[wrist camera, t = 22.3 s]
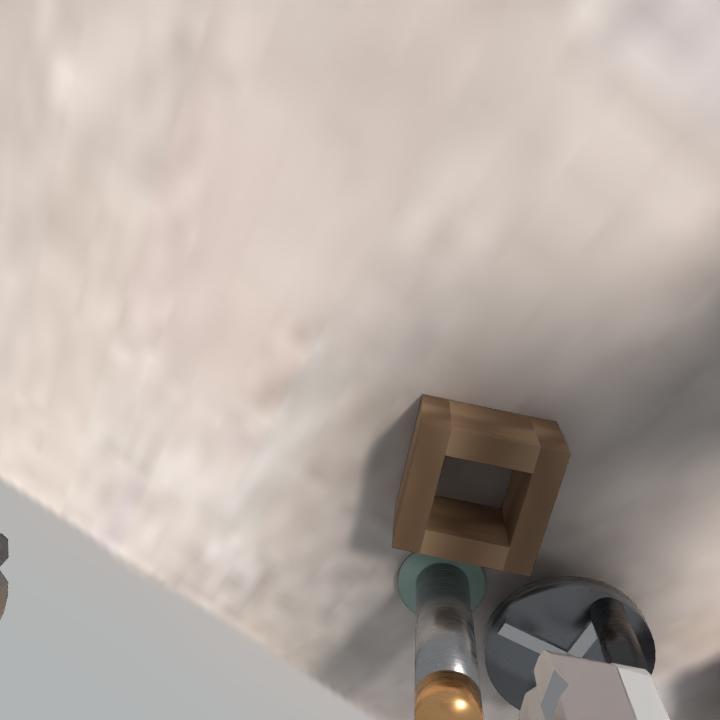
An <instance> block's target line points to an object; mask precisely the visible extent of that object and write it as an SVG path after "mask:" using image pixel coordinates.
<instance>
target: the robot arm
mask: <svg viewBox="0 0 720 720" xmlns="http://www.w3.org/2000/svg"><path fill="white" fill-rule="evenodd" d="M7 559H8V539H7V538H6V537H5V536H4V535H3V534H1V533H0V566H1V565H2V564H3V563H4V562H5V561H6V560H7ZM7 597H8V581H7V580H6V578H5V577H4V575H3V574H2V572H1V571H0V619H1V617H2V615H3V613H4V610H5V606H6V601H7ZM534 674H535V679H536V685H537V686H536V687H534V688H533V689H531V690H530V691H528V692H527V693H525V696H524V700H523V703H522V706H521V709H520V714H519V720H670V718H669V716H668V714H667V711H666V709H665V707H664V704H663V702H662V699H661V697H660V695H659V692H658V690H657V688H656V685H655V683H654V681H653V678H652V676H651V674H650V673H649V672H648V671H647V670H645V669H641V668H636V667H631V666H625V665H620V664H615V663H611V664H609V663H605V662H601V661H596V660H591V659H586V658H581V657H577V656H572V655H567V654H562V653H557V652H553V651H548V650H543V652H542V653H541V654H540V656H539V657H538V660H537V663H536V665H535V668H534Z"/></svg>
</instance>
